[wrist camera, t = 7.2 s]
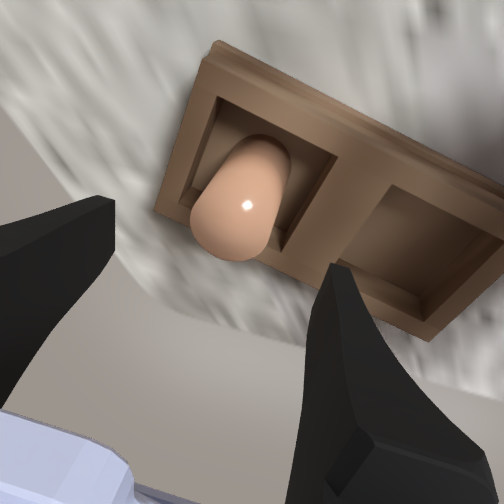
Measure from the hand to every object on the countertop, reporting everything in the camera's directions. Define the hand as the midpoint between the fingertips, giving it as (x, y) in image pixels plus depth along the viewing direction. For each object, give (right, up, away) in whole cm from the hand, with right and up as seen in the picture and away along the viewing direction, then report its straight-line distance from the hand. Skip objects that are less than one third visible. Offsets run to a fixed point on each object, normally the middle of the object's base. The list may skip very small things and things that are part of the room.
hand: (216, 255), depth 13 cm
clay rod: (+2, +4, +6) cm, 8 cm away
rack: (+5, +3, +8) cm, 10 cm away
